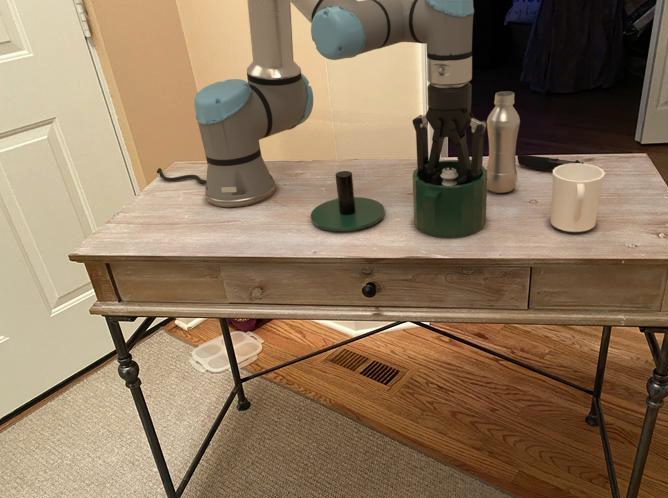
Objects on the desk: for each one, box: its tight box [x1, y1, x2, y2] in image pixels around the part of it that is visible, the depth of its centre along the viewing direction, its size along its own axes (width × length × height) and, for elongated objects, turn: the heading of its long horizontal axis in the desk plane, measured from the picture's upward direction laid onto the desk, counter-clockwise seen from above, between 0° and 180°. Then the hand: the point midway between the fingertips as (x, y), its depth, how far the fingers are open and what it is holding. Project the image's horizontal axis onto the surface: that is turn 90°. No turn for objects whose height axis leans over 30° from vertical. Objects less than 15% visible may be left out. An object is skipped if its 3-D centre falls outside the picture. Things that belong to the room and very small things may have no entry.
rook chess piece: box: [440, 168, 458, 186], centre depth 114 cm, size 4×4×8 cm
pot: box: [412, 159, 488, 239], centre depth 115 cm, size 14×19×10 cm
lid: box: [310, 170, 386, 232], centre depth 120 cm, size 15×15×9 cm
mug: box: [549, 163, 606, 235], centre depth 110 cm, size 11×9×10 cm
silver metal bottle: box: [486, 91, 521, 194], centre depth 124 cm, size 6×7×20 cm
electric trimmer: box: [516, 153, 585, 172], centre depth 136 cm, size 4×16×3 cm, turn 58°
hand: (449, 208), depth 116 cm, fingers closed on rook chess piece, 4 cm apart
